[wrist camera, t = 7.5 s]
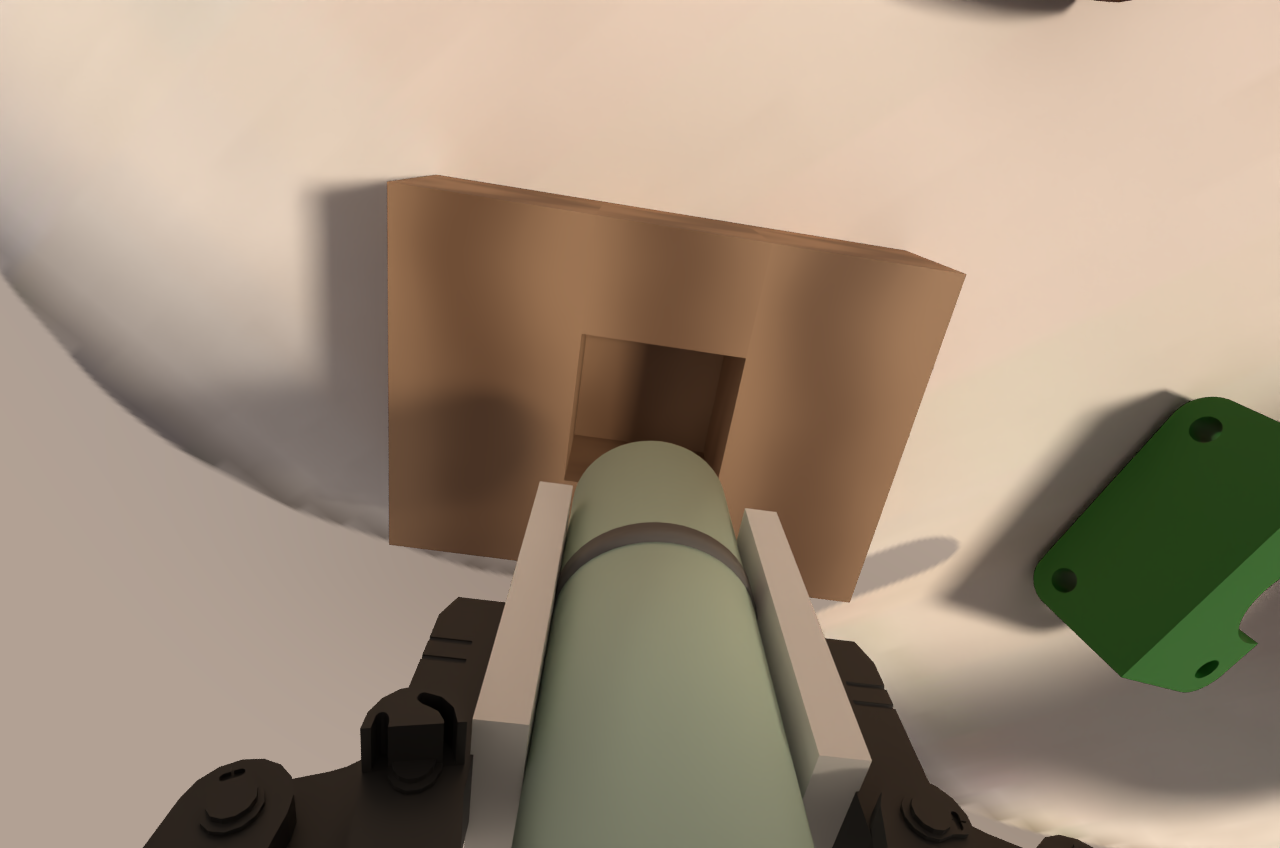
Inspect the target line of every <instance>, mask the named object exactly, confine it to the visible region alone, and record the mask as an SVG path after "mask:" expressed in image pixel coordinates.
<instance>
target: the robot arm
mask: <svg viewBox="0 0 1280 848" xmlns="http://www.w3.org/2000/svg"><path fill="white" fill-rule="evenodd" d="M572 489H573V486H572V485H565V484H557V483H549V482H542V481H540V483H539V486H538V490H537V494H536V497H535V501H534V504H533V508H532V511H531V515H530V518H529V522H528V525H527V529H526V532H525V536H524V539H523V543H522V547H521V550H520V554H519V557H518V561H517V564H516V568H515V571H514V575H513V578H512V582H511V585H510V589H509V593H508V596H507V600H506V603H505V602H496V601H488V600H479V599H470V598H462V597H458V598H457V599H456V600H455V601H453V602H452V603H451V604H450V605H449V606H448V607H447V608H446V609H445V610H444V611H442V612H441V613H440V614H439V616H438V619H437V621H436V623H435V626H434V628H433V631H432V633H431V635H430V640H429V641H428V643H427V645H426V647H425V650H424V652H423V655H422V659H420V662H419V664H418V666H417V669H416V671H415V674H414V676H413V678H412V681H411V684H410V686H409V688H404V689H400V690H398V691H396V692H394V693H392V694H390V695H388V696H386V697H384V698H382V699H381V700H380V701H379V702H378V703H377V704H376V705H375V706H374V707H373V708H372V709H371V710H370V711H368V713H367V715H366V717H365V719H364V722H363V724H362V726H361V728H360V733H361V734H360V735H361V760H360V761H358V762H356V763H354V764H351V765H350V766H348V767H344V768H341V769H337V770H334V771H331V772H326V773H320V774H315V775H310V776H305V777H301V778H295V779H292V777H291V775H290V774H289V773H288V772H287V771H286V770H285V769H284V768H283V766H282V765H281V764H278V763H275V762H272V761H269V760H266V759H246V760H240V761H237V762H234V763H231V764H227V765H224V766H221V767H219V768H217V769H216V770H214V771H212V772H210V773H209V774H207V775H206V776H204V777H202V778H201V779H199V780H197V781H196V782H195V783H194V784H193V786H192V787H190V788H189V789H188V790H187V791H186V793H184V795H182V797H181V798H180V799H179V800H178V801H177V803H176V804H175V805H174V807H173V808H172V809H171V811H170V812H169V813H168V815H167V816H166V817H165V819H164V820H163V822H162V823H161V824H160V825H159V827H158V828H157V829H156V831H155V832H154V834H153V835H152V836H151V838H150V839H149V840H148V842H147V843H146V844H145V846H144V847H143V848H463V844H464V840H465V844H464V845H465V846H464V848H511V847H512V841H513V835H514V830H515V824H516V818H517V813H518V807H519V801H520V796H521V791H522V785H523V780H524V774H525V768H526V763H527V757H528V751H529V746H530V740H531V734H532V729H533V723H534V717H535V712H536V706H537V700H538V695H539V689H540V683H541V678H542V672H543V666H544V661H545V655H546V649H547V644H548V638H549V632H550V627H551V621H552V615H553V608H554V600H555V593H556V588H557V582H558V577H559V575H560V570H561V565H562V559H563V553H564V548H565V542H566V536H567V529H568V521H569V513H570V505H571V497H572ZM737 545H738V549H739V553H740V557H741V560H742V564H743V568H744V570H745V572H746V574H747V576H748V579H749V583H750V586H751V590H752V593H753V597H754V601H755V605H756V611H757V623H758V627H759V631H760V635H761V639H762V643H763V647H764V651H765V654H766V658H767V662H768V666H769V670H770V674H771V678H772V682H773V686H774V690H775V694H776V698H777V701H778V705H779V709H780V713H781V717H782V721H783V725H784V729H785V733H786V737H787V741H788V745H789V748H790V752H791V756H792V760H793V764H794V768H795V772H796V776H797V780H798V784H799V788H800V792H801V795H802V799H803V803H804V807H805V811H806V815H807V819H808V823H809V827H810V831H811V835H812V838H813V842H814V846H815V848H1022V847H1019V846H1016V845H1014V844H1012V843H1009V842H1006V841H1004V840H1002V839H999V838H997V837H994V836H992V835H989V834H987V833H985V832H983V831H981V830H979V829H977V828H974V827H973V826H972V825H971V823H970V821H969V819H968V817H967V815H966V814H965V813H964V811H963V810H962V809H961V808H960V807H959V805H958V804H957V803H956V802H955V801H954V800H953V799H952V798H951V797H950V796H948V795H947V794H946V793H944V792H943V791H942V790H940V789H939V788H938V787H936V786H934V785H932V784H930V783H929V781H928V779H927V777H926V775H925V773H924V771H923V769H922V766H921V764H920V762H919V760H918V758H917V756H916V753H915V751H914V749H913V747H912V745H911V743H910V740H909V738H908V736H907V734H906V732H905V729H904V727H903V725H902V723H901V721H900V719H899V716H898V714H897V712H896V710H895V709H893V703H892V701H891V699H890V697H889V695H888V693H887V690H884V684H883V682H882V679H881V677H880V675H879V673H878V671H877V669H876V666H875V664H874V662H873V661H872V660H871V659H870V658H869V657H868V656H867V655H866V654H865V653H864V652H863V651H862V649H861V648H860V647H859V646H858V645H857V644H856V643H855V642H852V641H843V640H835V639H826V638H825V637H824V634H823V632H822V629H821V627H820V624H819V621H818V619H817V616H816V614H815V611H814V608H813V606H812V603H811V601H810V598H809V595H808V593H807V590H806V588H805V585H804V582H803V580H802V577H801V575H800V572H799V569H798V567H797V564H796V562H795V559H794V556H793V554H792V551H791V549H790V546H789V543H788V541H787V538H786V535H785V533H784V530H783V528H782V525H781V522H780V520H779V517H778V515H777V512H771V511H764V510H756V509H748V508H745V510H744V514H743V518H742V522H741V526H740V530H739V533H738V537H737ZM1037 848H1093V847H1091V846H1089V845H1087V844H1085V843H1083V842H1081V841H1080V840H1078V839H1074V838H1070V837H1066V836H1062V835H1055V836H1050V837H1045V838H1044V839H1043V840H1042V842H1041V843H1040V844H1039V845H1038V846H1037Z"/></svg>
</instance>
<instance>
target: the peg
mask: <svg viewBox="0 0 1280 848" xmlns="http://www.w3.org/2000/svg"><path fill="white" fill-rule="evenodd" d="M511 848H815V846H814V842H813V838H812V835H811V831H810V827H809V823H808V819H807V815H806V811H805V807H804V803H803V799H802V795H801V792H800V788H799V784H798V780H797V776H796V772H795V768H794V764H793V760H792V756H791V752H790V748H789V745H788V741H787V737H786V733H785V729H784V725H783V721H782V717H781V713H780V709H779V705H778V701H777V698H776V694H775V690H774V686H773V682H772V678H771V674H770V670H769V666H768V662H767V658H766V654H765V651H764V647H763V643H762V639H761V635H760V631H759V627H758V623H757V611H756V605H755V601H754V597H753V593H752V590H751V586H750V583H749V579H748V576H747V574H746V572H745V570H744V568H743V564H742V560H741V557H740V553H739V549H738V545H737V541H736V537H735V533H734V529H733V525H732V521H731V517H730V514H729V510H728V506H727V502H726V498H725V494H724V491H723V487H722V484H721V482H720V480H719V478H718V476H717V475H716V473H715V472H714V470H713V469H712V468H711V467H710V466H709V465H708V464H707V462H705V461H704V460H703V459H702V458H701V457H699V456H698V455H696V454H695V453H693V452H692V451H690V450H688V449H686V448H683V447H681V446H678V445H675V444H672V443H667V442H662V441H639V442H632V443H628V444H625V445H621V446H619V447H616V448H614V449H612V450H610V451H608V452H606V453H605V454H603V455H601V456H600V457H599V458H598V459H596V460H595V461H594V462H593V463H592V464H591V465H590V466H589V467H588V468H587V469H586V471H585V472H584V473H583V475H582V476H581V478H580V480H579V482H578V484H577V487H576V489H575V492H574V497H573V502H572V508H571V514H570V519H569V525H568V531H567V536H566V542H565V548H564V553H563V559H562V565H561V570H560V575H559V577H558V582H557V588H556V593H555V600H554V608H553V615H552V621H551V627H550V632H549V638H548V644H547V649H546V655H545V661H544V666H543V672H542V678H541V683H540V689H539V695H538V700H537V706H536V712H535V717H534V723H533V729H532V734H531V740H530V746H529V751H528V757H527V763H526V768H525V774H524V780H523V785H522V791H521V796H520V801H519V807H518V813H517V818H516V824H515V830H514V835H513V841H512V847H511Z"/></svg>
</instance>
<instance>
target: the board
mask: <svg viewBox="0 0 1280 848" xmlns="http://www.w3.org/2000/svg"><path fill="white" fill-rule="evenodd" d="M387 238H388V413H389V544H390V545H396V546H404V547H412V548H420V549H428V550H436V551H444V552H452V553H460V554H468V555H476V556H484V557H492V558H500V559H508V560H516V561H518V557H519V554H520V550H521V547H522V543H523V539H524V536H525V532H526V529H527V525H528V522H529V518H530V515H531V511H532V508H533V504H534V501H535V497H536V494H537V490H538V486H539V483H540V481H542V482H549V483H557V484H565V485H572V486H573V489H572V497H571V505H570V513H569V519H570V514H571V508H572V502H573V497H574V492H575V489H576V487H577V484H578V482H579V480H580V478H581V476H582V475H583V473H584V472H585V471H586V469H587V468H588V467H589V466H590V465H591V464H592V463H593V462H594V461H595V460H596V459H598V458H599V457H600V456H601V455H603V454H605V453H606V452H608V451H610V450H612V449H614V448H616V447H619V446H621V445H625V444H628V443H632V442H639V441H662V442H667V443H672V444H675V445H678V446H681V447H683V448H686V449H688V450H690V451H692V452H693V453H695V454H696V455H698V456H699V457H701V458H702V459H703V460H704V461H705V462H707V464H708V465H709V466H710V467H711V468H712V469H713V470H714V472H715V473H716V475H717V476H718V478H719V480H720V482H721V484H722V487H723V491H724V494H725V498H726V502H727V506H728V510H729V514H730V517H731V521H732V525H733V529H734V533H735V537H736V541H737V537H738V533H739V530H740V526H741V522H742V518H743V514H744V510H745V508H748V509H756V510H764V511H771V512H777V515H778V517H779V520H780V522H781V525H782V528H783V530H784V533H785V535H786V538H787V541H788V543H789V546H790V549H791V551H792V554H793V556H794V559H795V562H796V564H797V567H798V569H799V572H800V575H801V577H802V580H803V582H804V585H805V588H806V590H807V593H808V595H809V597H811V598H818V599H826V600H835V601H842V602H850V600H851V597H852V594H853V592H854V589H855V586H856V583H857V580H858V578H859V575H860V572H861V569H862V566H863V564H864V561H865V558H866V555H867V552H868V549H869V547H870V544H871V541H872V538H873V535H874V533H875V530H876V527H877V524H878V521H879V519H880V516H881V513H882V510H883V507H884V504H885V502H886V499H887V496H888V493H889V490H890V488H891V485H892V482H893V479H894V476H895V474H896V471H897V468H898V465H899V462H900V459H901V457H902V454H903V451H904V448H905V445H906V443H907V440H908V437H909V434H910V431H911V429H912V426H913V423H914V420H915V417H916V414H917V412H918V409H919V406H920V403H921V400H922V398H923V395H924V392H925V389H926V386H927V384H928V381H929V378H930V375H931V372H932V369H933V367H934V364H935V361H936V358H937V355H938V353H939V350H940V347H941V344H942V341H943V339H944V336H945V333H946V330H947V327H948V324H949V322H950V319H951V316H952V313H953V310H954V308H955V305H956V302H957V299H958V296H959V294H960V291H961V288H962V285H963V282H964V279H965V277H966V274H964V273H962V272H959V271H956V270H954V269H951V268H949V267H946V266H944V265H941V264H939V263H936V262H933V261H931V260H928V259H926V258H923V257H921V256H918V255H915V254H913V253H910V252H908V251H905V250H899V249H893V248H886V247H880V246H874V245H868V244H862V243H855V242H849V241H843V240H837V239H831V238H824V237H818V236H812V235H806V234H800V233H793V232H787V231H781V230H775V229H769V228H763V227H756V226H750V225H744V224H738V223H732V222H725V221H719V220H713V219H707V218H701V217H694V216H688V215H682V214H676V213H670V212H663V211H657V210H651V209H645V208H639V207H633V206H626V205H620V204H614V203H608V202H602V201H595V200H589V199H583V198H577V197H571V196H564V195H558V194H552V193H546V192H540V191H533V190H527V189H521V188H515V187H509V186H503V185H496V184H490V183H484V182H478V181H472V180H465V179H459V178H453V177H447V176H441V175H432V176H424V177H417V178H410V179H402V180H395V181H388V182H387ZM568 525H569V521H568ZM567 531H568V529H567Z"/></svg>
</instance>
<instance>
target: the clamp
mask: <svg viewBox="0 0 1280 848" xmlns="http://www.w3.org/2000/svg"><path fill="white" fill-rule="evenodd" d="M1279 579H1280V422H1278V421H1275V420H1273V419H1271V418H1269V417H1267V416H1264V415H1262V414H1260V413H1258V412H1256V411H1253V410H1251V409H1249V408H1247V407H1245V406H1242V405H1240V404H1238V403H1236V402H1234V401H1231V400H1229V399H1225V398H1221V397H1205V398H1200V399H1196V400H1193V401H1190V402H1188V403H1186V404H1185V405H1183V406H1181V407H1180V408H1179V409H1177V410H1176V411H1175V412H1174V413H1173V414H1172V416H1171V417H1170V418H1169V419H1168V420H1167V421H1166V422H1165V423H1164V424H1163V425H1162V427H1161V428H1160V429H1159V430H1158V431H1157V432H1156V433H1155V434H1154V435H1153V437H1152V438H1151V439H1150V440H1149V441H1148V442H1147V443H1146V444H1145V445H1144V446H1143V448H1142V449H1141V450H1140V451H1139V452H1138V453H1137V454H1136V455H1135V456H1134V457H1133V459H1132V460H1131V461H1130V462H1129V463H1128V464H1127V465H1126V466H1125V467H1124V469H1123V470H1122V471H1121V472H1120V473H1119V474H1118V475H1117V476H1116V477H1115V478H1114V480H1113V481H1112V482H1111V483H1110V484H1109V485H1108V486H1107V487H1106V488H1105V490H1104V491H1103V492H1102V493H1101V494H1100V495H1099V496H1098V497H1097V498H1096V499H1095V501H1094V502H1093V503H1092V504H1091V505H1090V506H1089V507H1088V508H1087V509H1086V511H1085V512H1084V513H1083V514H1082V515H1081V516H1080V517H1079V518H1078V519H1077V520H1076V522H1075V523H1074V524H1073V525H1072V526H1071V527H1070V528H1069V529H1068V530H1067V531H1066V533H1065V534H1064V535H1063V536H1062V537H1061V538H1060V539H1059V540H1058V541H1057V543H1056V544H1055V545H1054V546H1053V547H1052V548H1051V549H1050V550H1049V551H1048V552H1047V554H1046V555H1045V556H1044V557H1043V558H1042V559H1041V560H1040V561H1039V563H1038V564H1037V566H1036V569H1035V572H1034V578H1033V581H1034V587H1035V590H1036V593H1037V595H1038V596H1039V598H1040V599H1041V600H1042V601H1043V602H1044V603H1045V604H1046V605H1047V606H1048V607H1049V608H1050V609H1051V610H1052V611H1053V612H1054V613H1055V614H1056V615H1057V616H1058V617H1059V618H1060V619H1061V620H1062V621H1063V622H1064V623H1065V624H1066V625H1067V626H1069V627H1070V628H1071V629H1072V630H1073V631H1074V632H1075V633H1076V634H1077V635H1078V636H1079V637H1080V638H1081V639H1082V640H1083V641H1084V642H1085V643H1086V644H1087V645H1088V646H1089V647H1090V648H1091V649H1092V650H1093V651H1095V652H1096V653H1097V654H1098V655H1099V656H1100V657H1101V658H1102V659H1103V660H1104V661H1105V662H1106V663H1107V664H1108V665H1109V666H1110V667H1111V668H1112V669H1113V670H1114V671H1115V672H1116V673H1117V674H1118V675H1120V676H1121V677H1122V678H1126V679H1130V680H1134V681H1139V682H1143V683H1147V684H1151V685H1155V686H1159V687H1163V688H1167V689H1171V690H1175V691H1179V692H1192V691H1196V690H1198V689H1201V688H1203V687H1205V686H1207V685H1209V684H1211V683H1212V682H1214V681H1215V680H1217V679H1218V678H1219V677H1220V676H1222V675H1223V674H1224V673H1225V672H1226V671H1227V670H1229V669H1230V668H1231V667H1232V666H1233V665H1234V664H1235V663H1237V662H1238V661H1239V660H1240V659H1241V658H1242V657H1243V656H1245V655H1246V654H1247V653H1248V652H1249V651H1250V650H1251V649H1253V648H1254V647H1255V646H1256V645H1257V644H1258V643H1257V642H1255V641H1254V640H1253V639H1251V638H1250V637H1249V636H1247V635H1246V634H1245V633H1243V632H1242V631H1241V630H1239V625H1240V622H1241V620H1242V618H1243V616H1244V614H1245V613H1246V611H1247V610H1248V608H1249V607H1250V606H1251V605H1252V603H1253V602H1254V601H1255V600H1256V599H1257V598H1258V597H1259V596H1260V595H1261V594H1262V593H1263V592H1264V591H1265V590H1266V589H1267V588H1269V587H1270V586H1271V585H1272V584H1273V583H1275V582H1276V581H1277V580H1279Z"/></svg>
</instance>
